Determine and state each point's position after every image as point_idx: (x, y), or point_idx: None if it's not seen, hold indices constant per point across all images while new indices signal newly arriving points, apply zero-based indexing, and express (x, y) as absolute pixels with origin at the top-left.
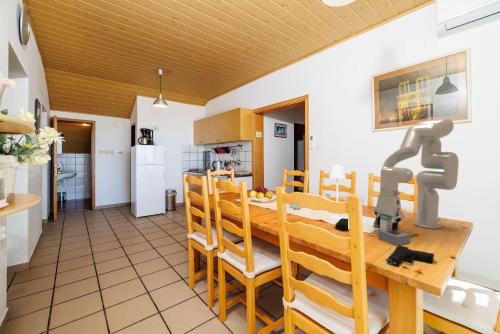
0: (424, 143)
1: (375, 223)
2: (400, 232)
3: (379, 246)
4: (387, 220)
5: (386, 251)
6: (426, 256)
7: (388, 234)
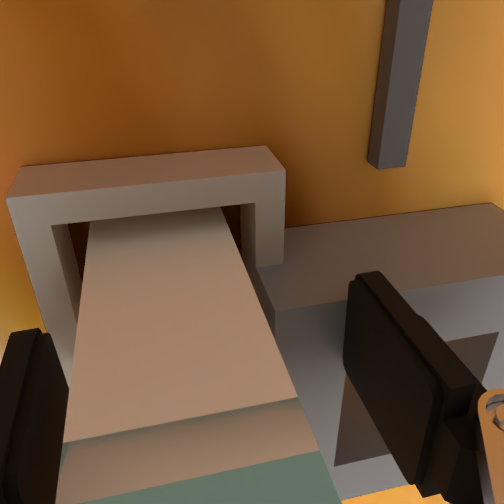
0: None
1: None
2: (466, 326)
3: (367, 496)
4: None
5: (439, 497)
6: None
7: (402, 482)
